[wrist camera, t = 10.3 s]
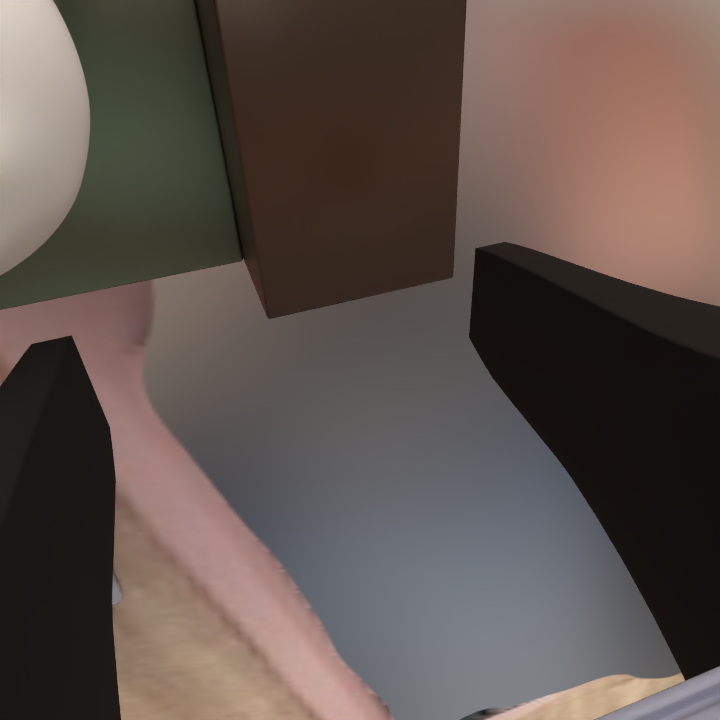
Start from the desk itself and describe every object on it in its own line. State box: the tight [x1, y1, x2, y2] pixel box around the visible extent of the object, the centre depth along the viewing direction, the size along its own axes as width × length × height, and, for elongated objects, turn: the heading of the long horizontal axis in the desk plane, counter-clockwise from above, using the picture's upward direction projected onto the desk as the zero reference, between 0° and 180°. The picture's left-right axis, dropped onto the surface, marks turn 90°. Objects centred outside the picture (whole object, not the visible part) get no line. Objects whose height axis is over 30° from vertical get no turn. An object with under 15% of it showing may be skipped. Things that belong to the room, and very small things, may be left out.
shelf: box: [0, 0, 466, 319], centre depth 13 cm, size 13×13×7 cm
